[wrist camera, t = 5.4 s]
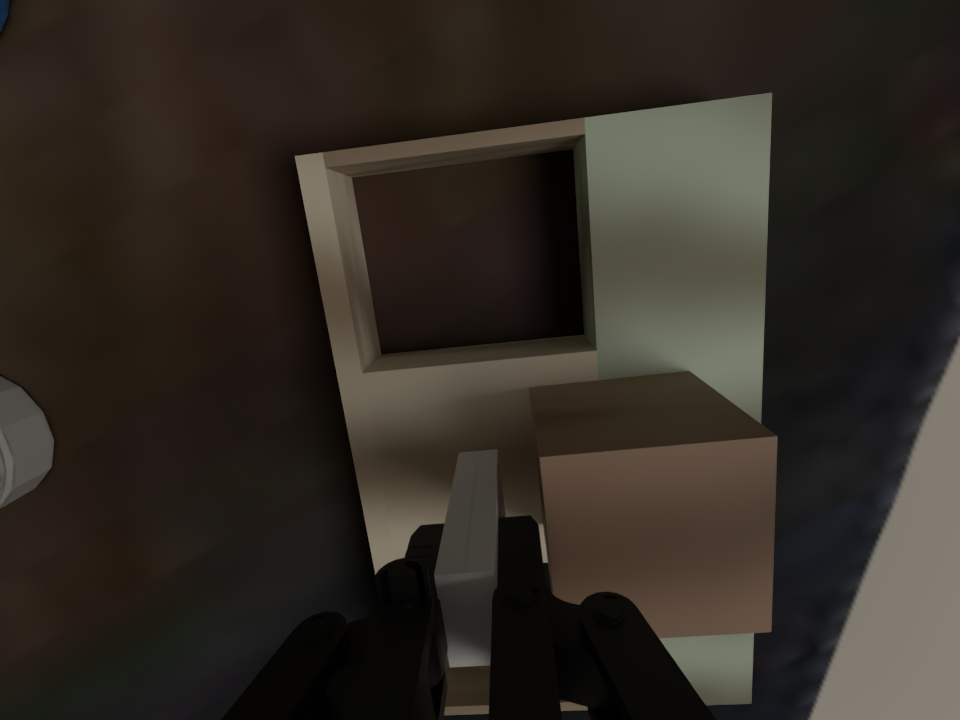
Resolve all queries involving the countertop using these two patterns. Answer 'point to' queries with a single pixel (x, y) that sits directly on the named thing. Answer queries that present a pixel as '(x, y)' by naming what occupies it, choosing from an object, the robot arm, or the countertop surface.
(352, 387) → the frame
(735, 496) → the walnut block
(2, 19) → the snack cup
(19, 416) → the white cup
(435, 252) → the countertop surface
